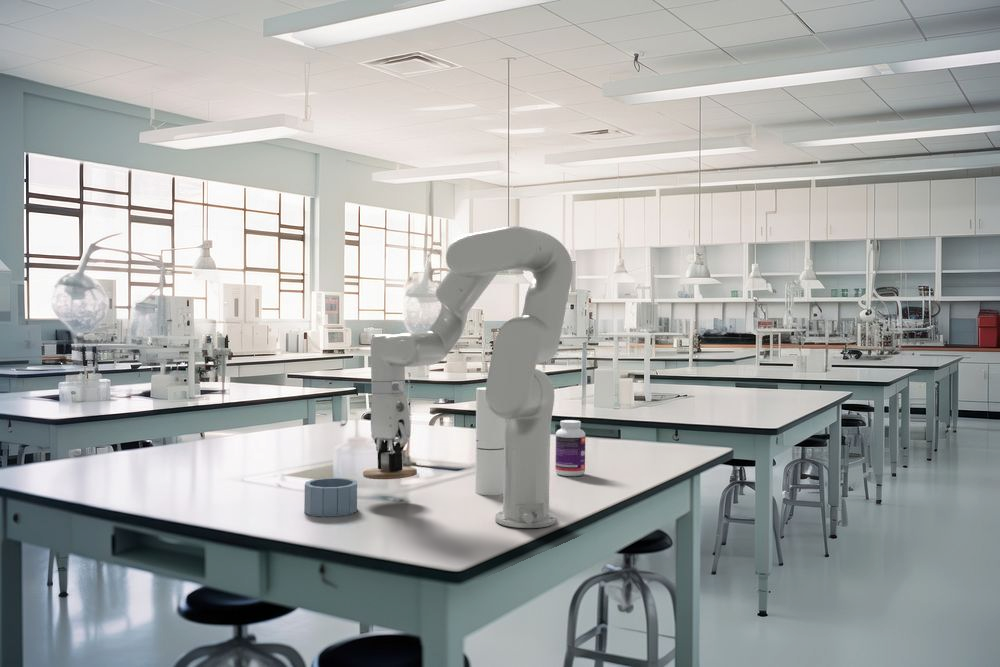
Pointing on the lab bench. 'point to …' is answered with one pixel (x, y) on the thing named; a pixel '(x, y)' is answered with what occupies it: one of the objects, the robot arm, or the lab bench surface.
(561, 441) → the pill bottle
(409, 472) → the lid
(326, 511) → the bowl
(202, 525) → the lab bench surface
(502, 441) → the cylindrical container
